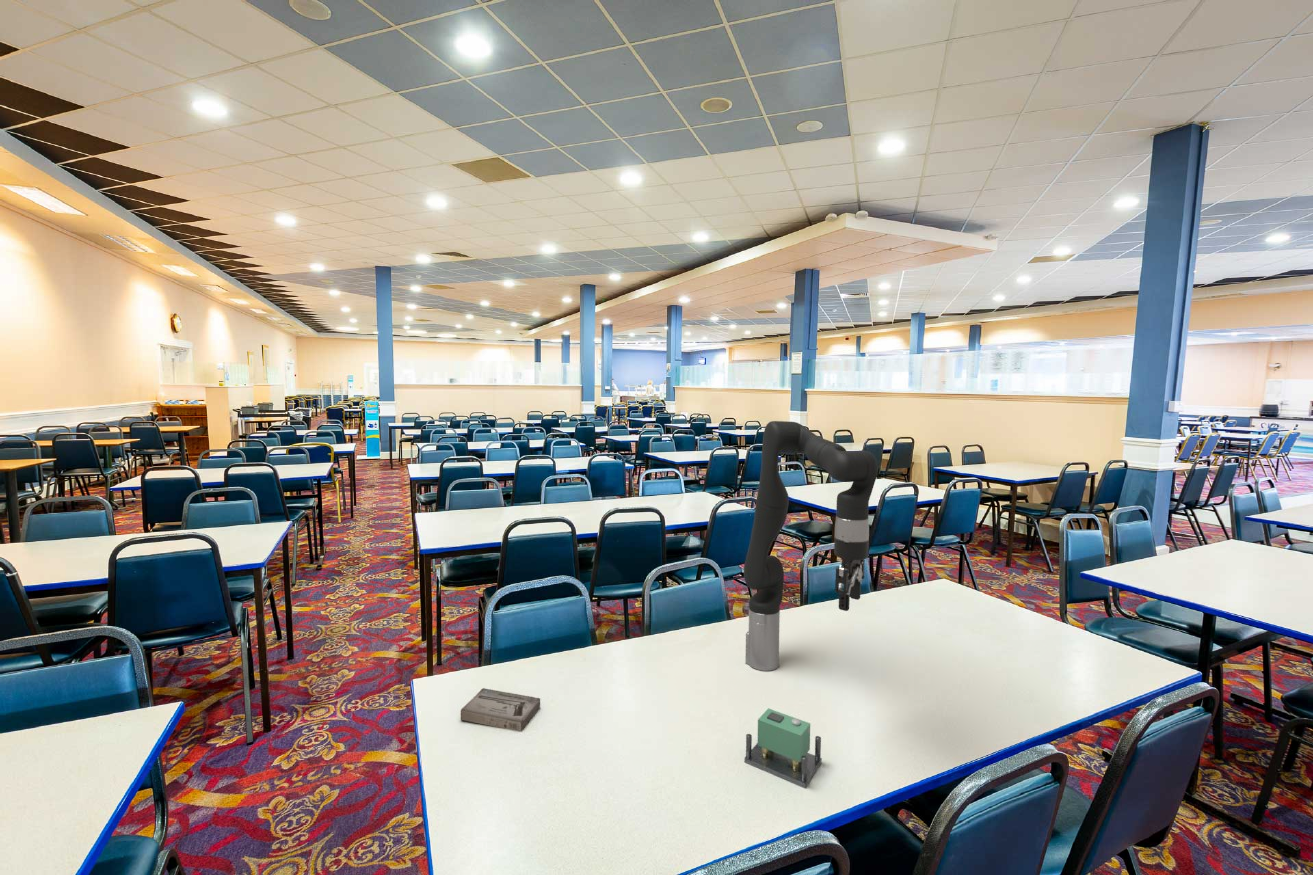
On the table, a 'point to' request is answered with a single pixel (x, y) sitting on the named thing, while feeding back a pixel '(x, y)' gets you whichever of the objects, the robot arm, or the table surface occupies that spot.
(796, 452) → the robot arm
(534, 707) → the box
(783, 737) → the module block
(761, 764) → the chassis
